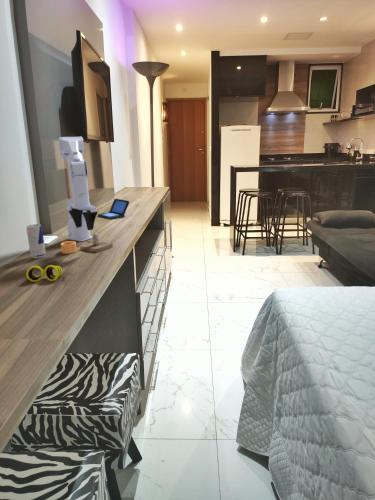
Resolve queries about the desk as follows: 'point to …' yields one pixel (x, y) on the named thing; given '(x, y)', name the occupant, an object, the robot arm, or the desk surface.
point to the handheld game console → (116, 209)
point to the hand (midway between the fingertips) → (84, 228)
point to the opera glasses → (44, 273)
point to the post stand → (96, 245)
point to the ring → (68, 247)
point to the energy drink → (36, 241)
